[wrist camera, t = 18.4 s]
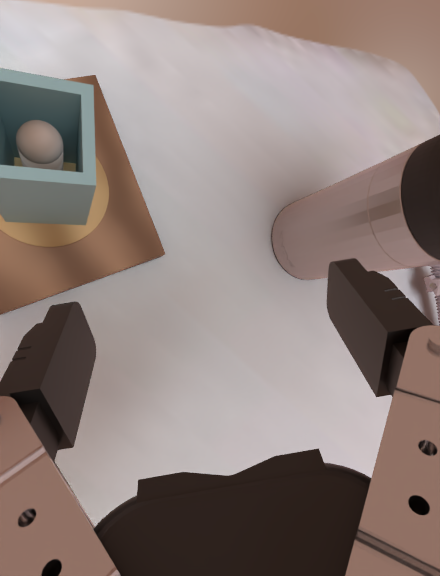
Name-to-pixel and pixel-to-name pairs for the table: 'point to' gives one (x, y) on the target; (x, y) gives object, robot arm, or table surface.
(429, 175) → the robot arm
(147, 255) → the peg board
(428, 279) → the adjustable rod
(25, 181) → the collar
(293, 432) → the table surface
